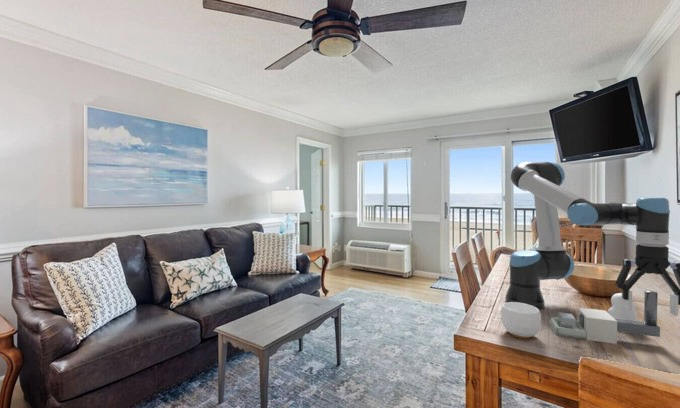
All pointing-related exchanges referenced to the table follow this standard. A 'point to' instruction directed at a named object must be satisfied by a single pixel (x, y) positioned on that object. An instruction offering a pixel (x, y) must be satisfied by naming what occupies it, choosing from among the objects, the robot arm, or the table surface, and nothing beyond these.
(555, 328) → the tray
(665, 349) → the table surface
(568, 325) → the block
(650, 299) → the grey l-shaped bracket
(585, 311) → the housing
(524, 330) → the white faceted bowl
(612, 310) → the figurine
